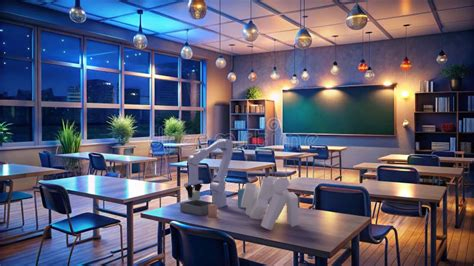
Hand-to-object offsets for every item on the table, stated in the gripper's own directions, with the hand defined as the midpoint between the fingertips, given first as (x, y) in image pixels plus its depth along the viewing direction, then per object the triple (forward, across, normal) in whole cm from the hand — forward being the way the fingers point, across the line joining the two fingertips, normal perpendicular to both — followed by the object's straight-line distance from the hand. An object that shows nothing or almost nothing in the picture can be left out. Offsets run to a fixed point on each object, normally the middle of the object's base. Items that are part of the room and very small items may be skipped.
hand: (193, 196), depth 229 cm
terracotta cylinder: (+8, -4, -20) cm, 22 cm away
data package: (+9, +25, -22) cm, 35 cm away
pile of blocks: (+9, +4, -52) cm, 53 cm away
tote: (+8, 0, -4) cm, 9 cm away
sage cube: (+2, 0, 0) cm, 2 cm away
